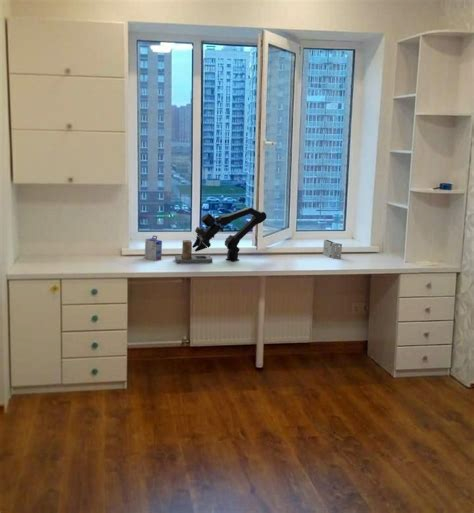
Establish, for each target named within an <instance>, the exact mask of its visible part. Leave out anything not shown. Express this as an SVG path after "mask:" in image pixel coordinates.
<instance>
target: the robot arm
mask: <svg viewBox="0 0 474 513" xmlns="http://www.w3.org/2000/svg"><path fill="white" fill-rule="evenodd" d="M248 215H251V219H250V220H249V221H248V222H247V223H246V224H245V225H243V227H241V228H240V229H239V231H237V232H236V233H235V234H234V235H231V234H230V235H229V236H228V237H227V238H225V240H224V246H225V247H226V248H227V252H226V254H227V256H226V257H227V258H225V260H226V261H229V262H237V261H240V259H239V252H240V247H239V246H238V245H239V243H240V241H241V240H242V239H243V238H244V237H245V236H246V235H247V234H249V232H250V231H252V229H253V228H254V227H256V225H259V224H261V223H263V222H264V221H266V219H267V214H266V212H265V211H262V210H257V209H255V208H253V207H251V206H246V207H245V208H242V209H240V210H236V211H235V212H232V213H227V214H221V215H218V216H217V217H213V216H212V214H210V213H209V212H208V213H207V214H205V215H203V216H202V217H201V219H200V221H201V223H203V224H204V225H205V226H206V227H207V228H205V229H204V228H202V227H199V226H196V228H195V230H194V232H195V233H196V234H195V235H196V239H195V241H194V243H192V248H193V249H194V248H195V250H194V252H195V253H197V252H199V251H202V250H204V249H209V248H210V247H211V245H212V244H211V241H210V240H212V239H214V238H215V236H216V234H218V233H219V232H220V231H221V232H222V233H223V232H224V227H226V226H229V225H230V224H231V223H232V222H233V221H235V220H238V219H240V218H242V217H246V216H248Z"/></svg>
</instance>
